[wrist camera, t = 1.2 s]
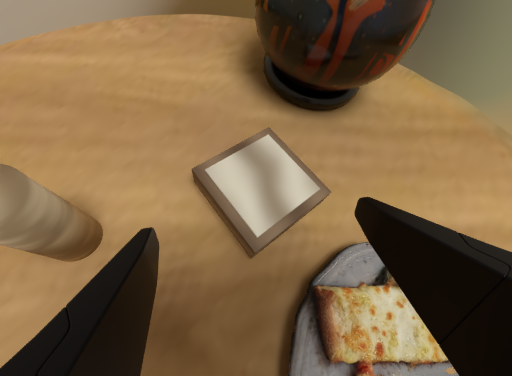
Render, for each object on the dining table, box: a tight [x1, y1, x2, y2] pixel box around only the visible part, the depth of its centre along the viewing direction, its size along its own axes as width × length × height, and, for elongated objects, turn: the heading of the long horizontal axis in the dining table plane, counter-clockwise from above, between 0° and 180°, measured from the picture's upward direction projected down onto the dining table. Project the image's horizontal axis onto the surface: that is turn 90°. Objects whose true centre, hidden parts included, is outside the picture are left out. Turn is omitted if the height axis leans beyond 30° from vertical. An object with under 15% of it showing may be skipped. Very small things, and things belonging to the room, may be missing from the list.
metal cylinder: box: [0, 164, 103, 262], centre depth 17 cm, size 4×4×10 cm
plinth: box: [192, 128, 331, 258], centre depth 25 cm, size 11×11×3 cm
